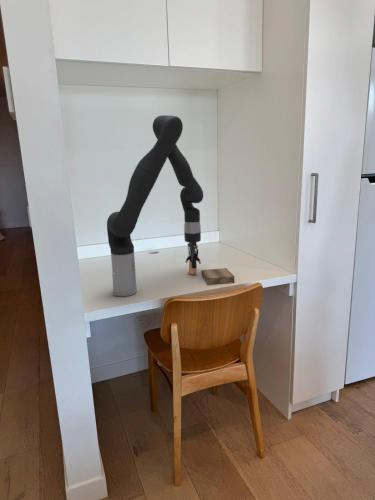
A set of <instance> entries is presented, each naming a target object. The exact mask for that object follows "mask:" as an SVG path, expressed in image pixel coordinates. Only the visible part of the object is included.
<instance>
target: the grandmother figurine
mask: <svg viewBox="0 0 375 500" xmlns="http://www.w3.org/2000/svg"><path fill="white" fill-rule="evenodd" d="M194 258H195V257H194ZM184 262H185V264H188V272H187V274H186V275H189V276H190V275H192V276H196V275H197V273H198V272H197V266H198V265H197V263H196V268H192V265H191V256H189V255H188V256H187V258H186V259H185V261H184ZM196 262H198V264H199V265H201V264H202V262H201V259H200V258H199V257H198V260H196Z"/></svg>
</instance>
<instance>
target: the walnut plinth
mask: <svg viewBox="0 0 375 500" xmlns="http://www.w3.org/2000/svg"><path fill="white" fill-rule="evenodd" d="M200 273H201V278H202V279H203V281H204V282H205V283H206V285H207V286H213V285H223V284H235V275H234V274H233V273H232V272H231V271H230V270H229V269H228V268H227V267H225V268H222V267H221V268H214V269H211V268H210V269H201V270H200Z"/></svg>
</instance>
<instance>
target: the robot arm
mask: <svg viewBox="0 0 375 500" xmlns="http://www.w3.org/2000/svg"><path fill="white" fill-rule="evenodd" d="M183 127H184V125H183V120H181V118H180V117H179V116H176V115H158V116H157V117H154V120H153V122H152V131H153V134H154V135H155V138H156V139H157V140H156V143H155V144H154V145H153V147H151V149H150V150H149V151H148V152H147V153H146V154H145V155H144V156H143V157H142V158H141V159H140V160H139V162H138V163H137V165H136V166H135V169H134V171H133V172H132V175H131V177H130V180H129V183H128V188H127V194H126V198H125V200H124V202H123V205H122V206H121V208H120V210H119V211H114V212H112V213H111V214H110V215H109V216H108V217H107V220H106V230H107V232H106V233H107V239H108V245H109V248H110V258H111V259H110V260H111V261H110V262H111V269H112V270H111V272H112V273H111V275H112V287H113V289H112V290H113V296H114V297H117V296H118V297H128V296H133V295H135V294H136V293H137V292H138V291H137V289H138V288H137V276H136V262H135V247H134V243H133V241H132V237H131V234H132V233H133V232H134V230H135V228H136V226H137V222H138V220H139V218H140V214H141V212H142V209H143V207H144V205H145V203H146V202H147V200H148V198H149V196H150V193H151V192H152V190H153V188H154V186H155V184H156V181H158V178H159V175H160V173H161V171H162V169H163V167H164V165H165V163H166V161H167V160H169V164H170V165H171V167H172V170H173V172H174V175H175V178H176V179H177V180H176V181H177V182H178V185H180V186H181V187H182V189H181V190H180V193H179V198H180V202H181V205H182V210H183V212H184V213H183V214H184V224H183V227H184V228H183V232H184V233H183V234H184V236H183V237H184V242H185V243H187V252H188V256H191V265H192V268H196V264H197V261H196V260H198V258H199V245H197V243H199V242H200V241H201V239H202V236H201V235H202V234H201V232H202V231H201V226H202V225H201V212H200V209H199V208H198V207H195V206H194V205H193V204H200V203H202V201H203V199H204V191H203V189H202V187H201V185H200V183H199V182H198V180H197V179H196V178H195V177H194V174H193V170H192V168H191V166H190V164H189V162H188V160H187V158H186V157H185V156H184V154H183V153H182V152H181V150H180V148H178V145H177V142H178V141H179V139H180V137H181V135H182V133H183ZM194 257H195V258H194Z"/></svg>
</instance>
